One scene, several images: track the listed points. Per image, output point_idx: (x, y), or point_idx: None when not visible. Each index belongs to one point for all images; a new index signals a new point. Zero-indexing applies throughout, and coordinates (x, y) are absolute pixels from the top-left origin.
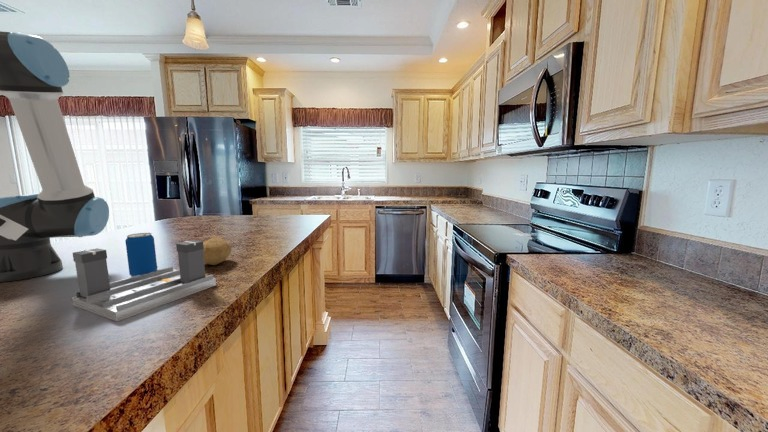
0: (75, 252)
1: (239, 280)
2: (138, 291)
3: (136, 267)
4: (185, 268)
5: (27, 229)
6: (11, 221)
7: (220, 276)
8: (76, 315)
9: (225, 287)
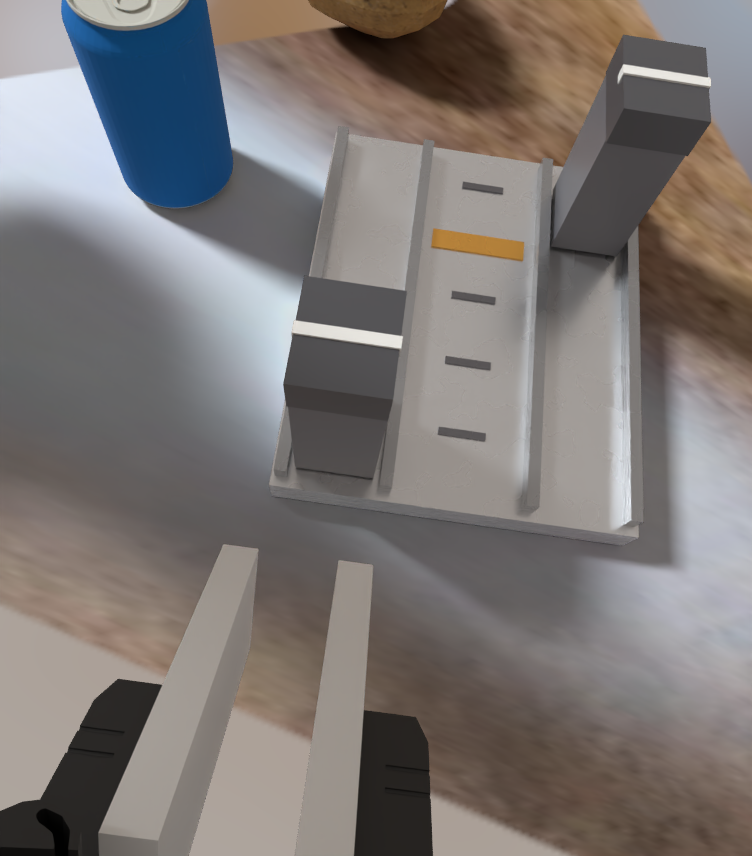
0: (292, 374)
1: None
2: (543, 386)
3: (193, 174)
4: (620, 207)
5: (369, 572)
6: (362, 657)
7: (539, 123)
8: (402, 555)
9: (674, 209)
